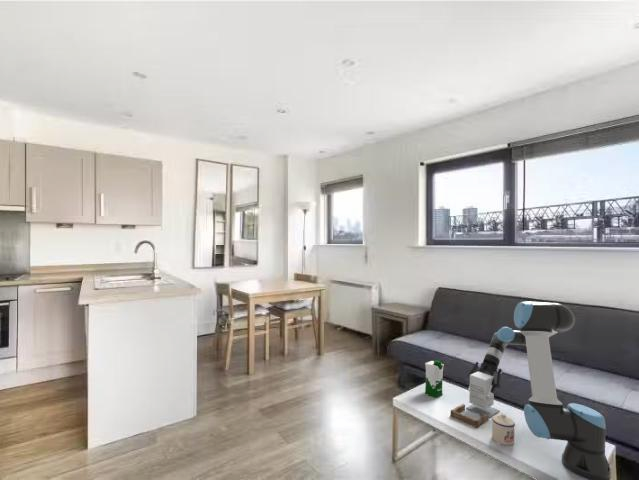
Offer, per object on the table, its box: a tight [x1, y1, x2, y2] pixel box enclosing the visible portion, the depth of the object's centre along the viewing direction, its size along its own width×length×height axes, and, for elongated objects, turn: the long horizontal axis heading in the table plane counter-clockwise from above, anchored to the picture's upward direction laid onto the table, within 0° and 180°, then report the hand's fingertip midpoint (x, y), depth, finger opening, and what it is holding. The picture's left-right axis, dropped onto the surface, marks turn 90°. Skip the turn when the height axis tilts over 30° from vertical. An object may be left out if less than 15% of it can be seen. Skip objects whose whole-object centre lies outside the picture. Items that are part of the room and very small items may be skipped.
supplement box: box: [468, 372, 495, 409], centre depth 176 cm, size 9×9×15 cm
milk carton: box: [424, 359, 445, 399], centre depth 194 cm, size 9×9×20 cm
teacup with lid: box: [491, 412, 516, 447], centre depth 149 cm, size 12×9×12 cm
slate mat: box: [465, 403, 501, 419], centre depth 176 cm, size 12×12×1 cm
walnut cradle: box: [450, 403, 489, 429], centre depth 167 cm, size 12×13×3 cm
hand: (478, 394), depth 174 cm, fingers closed on supplement box, 9 cm apart
